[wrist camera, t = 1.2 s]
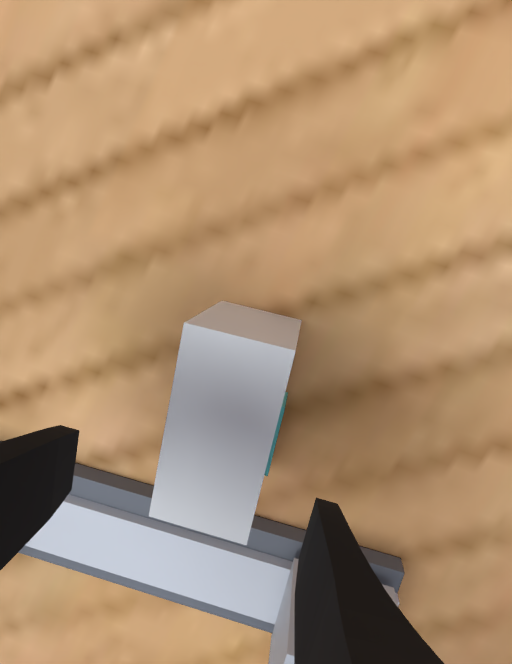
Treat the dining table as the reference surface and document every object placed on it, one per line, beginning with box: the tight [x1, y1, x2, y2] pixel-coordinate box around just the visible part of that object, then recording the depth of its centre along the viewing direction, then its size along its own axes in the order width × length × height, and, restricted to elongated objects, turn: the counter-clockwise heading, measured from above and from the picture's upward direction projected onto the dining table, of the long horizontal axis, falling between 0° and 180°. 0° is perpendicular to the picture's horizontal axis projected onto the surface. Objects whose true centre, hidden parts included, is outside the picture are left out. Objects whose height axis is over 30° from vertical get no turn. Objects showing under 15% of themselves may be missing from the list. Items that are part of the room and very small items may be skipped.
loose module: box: [149, 301, 302, 545], centre depth 18 cm, size 4×8×6 cm, turn 167°
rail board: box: [0, 441, 404, 664], centre depth 20 cm, size 26×6×7 cm, turn 77°
